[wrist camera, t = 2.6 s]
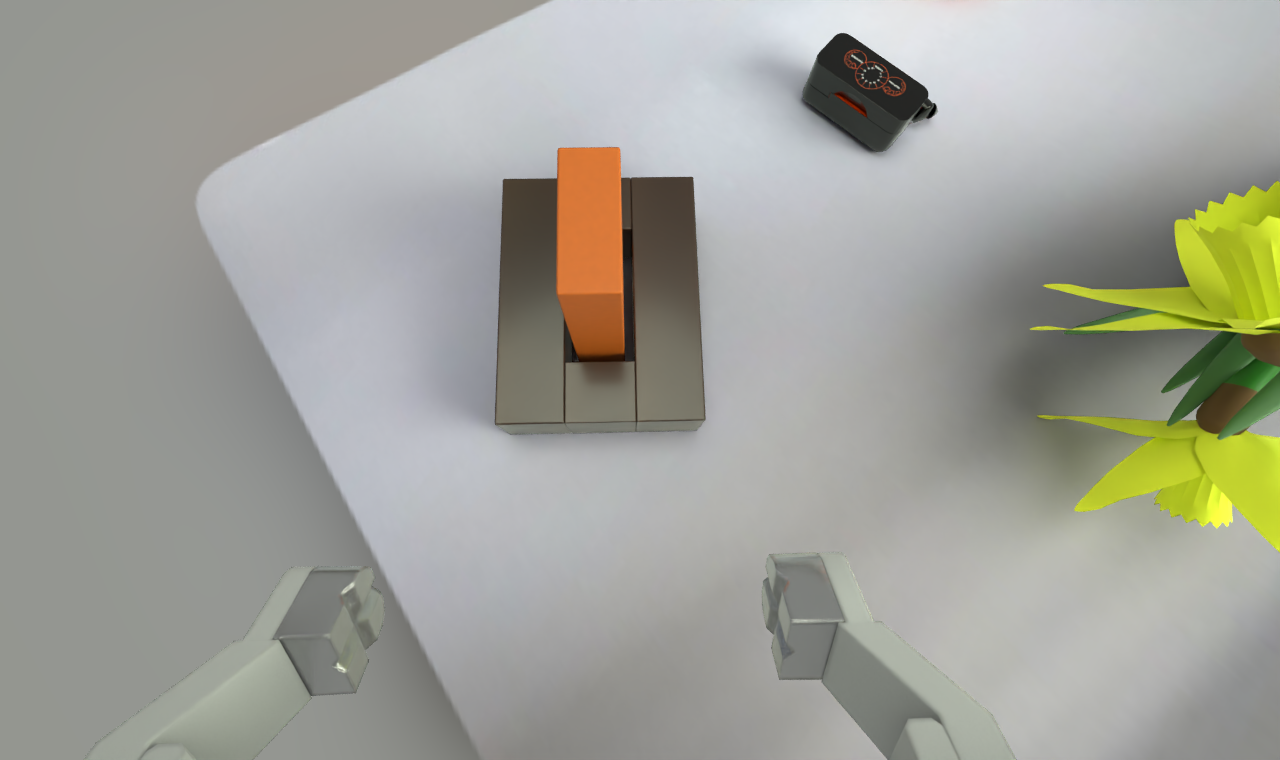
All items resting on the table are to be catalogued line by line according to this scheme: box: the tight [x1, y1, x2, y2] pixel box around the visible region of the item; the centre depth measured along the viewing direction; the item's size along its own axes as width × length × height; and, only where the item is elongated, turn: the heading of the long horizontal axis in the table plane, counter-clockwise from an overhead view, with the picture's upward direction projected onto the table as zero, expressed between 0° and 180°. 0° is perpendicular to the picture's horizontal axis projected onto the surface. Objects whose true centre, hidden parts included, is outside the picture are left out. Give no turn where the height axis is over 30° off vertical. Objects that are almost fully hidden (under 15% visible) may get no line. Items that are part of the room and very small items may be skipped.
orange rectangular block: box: [556, 147, 625, 362], centre depth 26 cm, size 2×6×11 cm, turn 2°
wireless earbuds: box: [803, 33, 938, 152], centre depth 34 cm, size 5×7×3 cm, turn 49°
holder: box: [495, 177, 706, 434], centre depth 30 cm, size 10×13×4 cm
